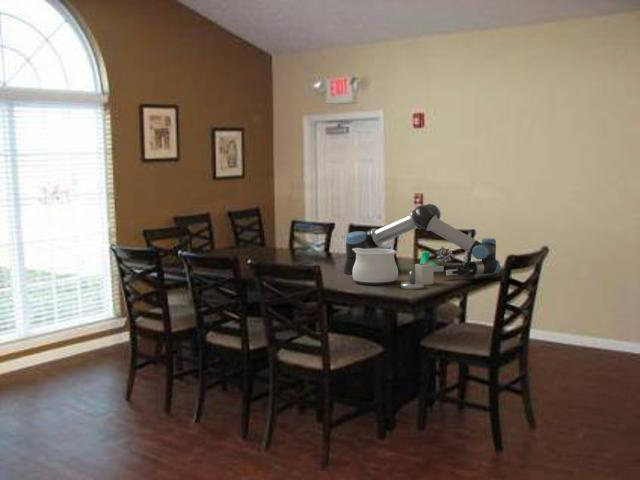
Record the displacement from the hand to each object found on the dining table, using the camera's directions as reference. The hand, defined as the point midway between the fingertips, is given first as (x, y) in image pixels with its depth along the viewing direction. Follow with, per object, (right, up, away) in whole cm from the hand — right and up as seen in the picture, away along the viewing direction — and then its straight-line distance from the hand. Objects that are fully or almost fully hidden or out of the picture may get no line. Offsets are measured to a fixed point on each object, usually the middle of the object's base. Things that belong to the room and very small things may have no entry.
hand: (439, 270), depth 382 cm
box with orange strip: (-9, -6, -3) cm, 11 cm away
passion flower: (+15, +2, +77) cm, 78 cm away
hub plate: (-16, -8, -14) cm, 23 cm away
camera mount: (+2, -1, +51) cm, 51 cm away
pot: (-34, -6, +3) cm, 35 cm away
